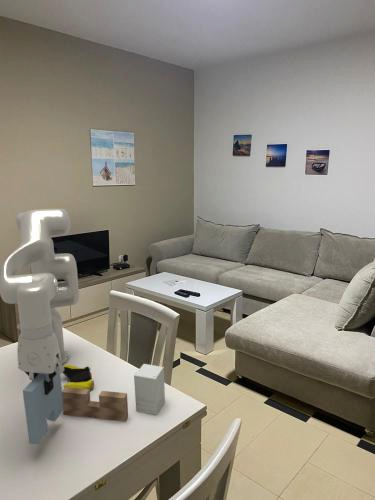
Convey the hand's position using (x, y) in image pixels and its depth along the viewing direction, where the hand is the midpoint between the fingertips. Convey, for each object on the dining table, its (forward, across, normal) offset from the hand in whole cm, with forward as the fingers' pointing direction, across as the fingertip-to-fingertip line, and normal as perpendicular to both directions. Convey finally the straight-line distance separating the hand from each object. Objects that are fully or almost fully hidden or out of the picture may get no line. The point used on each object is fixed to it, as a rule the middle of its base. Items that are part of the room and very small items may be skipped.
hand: (43, 390), depth 103 cm
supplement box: (+16, +24, +19) cm, 35 cm away
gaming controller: (+17, -3, +26) cm, 31 cm away
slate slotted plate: (+11, 0, 0) cm, 11 cm away
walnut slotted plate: (+16, +9, +12) cm, 22 cm away
